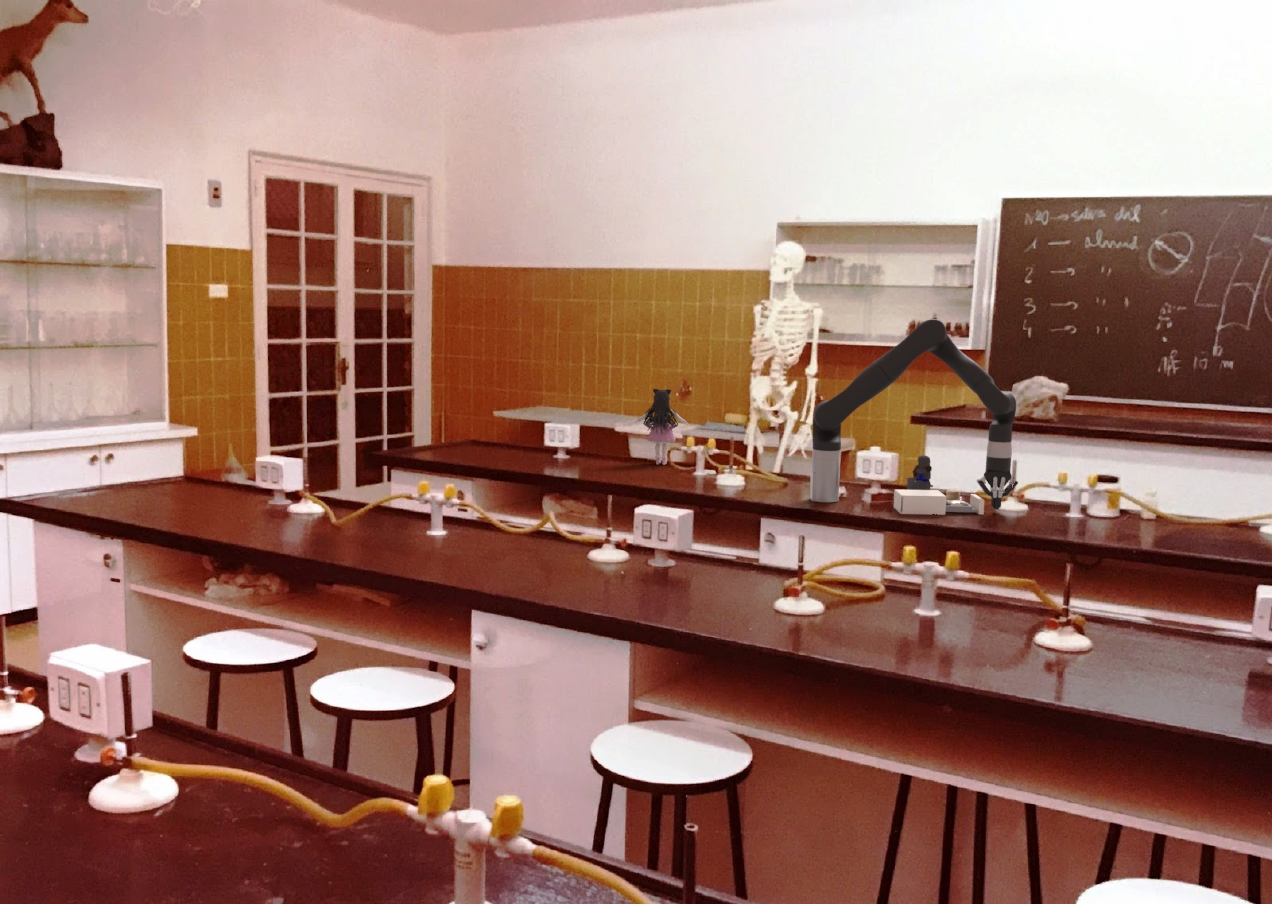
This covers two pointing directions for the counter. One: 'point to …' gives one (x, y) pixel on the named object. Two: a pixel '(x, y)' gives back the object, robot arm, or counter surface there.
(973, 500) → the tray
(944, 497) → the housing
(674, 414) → the figurine
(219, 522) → the counter surface
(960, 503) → the puck
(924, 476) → the toy
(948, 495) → the pedestal
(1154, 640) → the counter surface
